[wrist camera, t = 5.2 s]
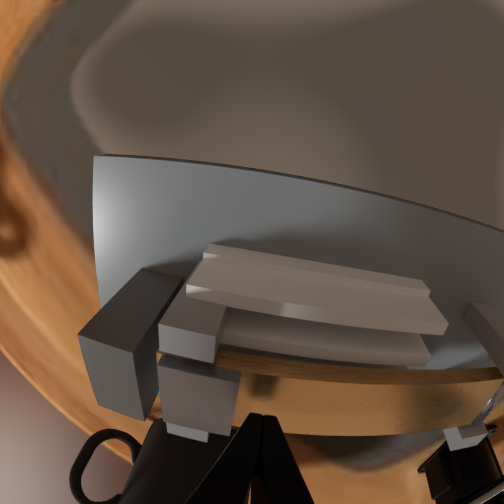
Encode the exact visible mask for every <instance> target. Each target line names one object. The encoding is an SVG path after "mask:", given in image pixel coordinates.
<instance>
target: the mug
mask: <svg viewBox="0 0 504 504" xmlns="http://www.w3.org/2000/svg"><path fill="white" fill-rule="evenodd" d="M235 434H236V431H234V430H232V429H231V432H230V436H226V435H220V434H215V433H209V437H208V441H207V442H203V441H198V440H194V439H190V438H186V437H182V436H178V435H175V434H171V433H167V425H166V422H164V421H163V418H160V419H158V420H156V421H155V422H154V423H152V425H151V427H150V429H149V431H148V433H147V435H146V438H145V440H144V442H143V445H141V444H140V443H139V442H138V441H137V440H136V439H135V438H133V437H132V436H131V435H129V434H128V433H126V432H123V431H120V430H116V429H104V430H101V431H98V432H96V433H95V434H93V435H92V436H91V437H90V438H89V439H88V440H87V441H86V443H85V444H84V446H83V447H82V449H81V451H80V453H79V455H78V456H77V458H76V460H75V462H74V464H73V466H72V468H71V471H70V476H69V483H70V488H71V491H72V494H73V496H74V498H75V499H76V500H77V501H78V502H79V503H80V504H184V503H185V502H186V501H187V499H188V498H189V497H190V496H191V494H192V493H193V492H194V491H195V489H196V488H197V487H198V485H199V484H200V483H201V481H202V480H203V479H204V477H205V476H206V475H207V473H208V472H209V471H210V469H211V468H212V467H213V465H214V464H215V462H216V461H217V460H218V458H219V457H220V455H221V454H222V453H223V451H224V450H225V448H226V447H227V445H228V444H229V443H230V441H231V440H232V438H233V437H234V435H235ZM108 439H119V440H121V441H123V442H125V443H126V444H127V445H128V446H129V447H130V449H131V453H132V462H133V464H134V466H133V468H132V470H131V473H130V475H129V478H128V480H127V482H126V485H125V487H124V490H123V492H122V494H117V495H115V496H114V497H113V498H111V499H109V500H107V501H102V502H94V501H90V500H89V499H88V498H87V497H86V496H85V495H84V492H83V490H82V486H81V477H82V474H83V471H84V469H85V467H86V465H87V463H88V461H89V460H90V458H91V456H92V454H93V452H94V450H95V448H96V447H97V446H98V445H99V444H100V443H102V442H103V441H105V440H108ZM250 486H251V481H250V484H249V487H248V490H247V494H246V497H245V500H244V503H243V504H248V500H249V493H250Z"/></svg>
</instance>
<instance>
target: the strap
mask: <svg viewBox="0 0 504 504" xmlns="http://www.w3.org/2000/svg"><path fill="white" fill-rule="evenodd" d="M156 356H157V371H158V382H159V392H160V401H161V409H162V417H163V421H164V422H167V423H171V424H175V425H179V426H183V427H187V428H191V429H196V430H200V431H205V432H210V433H215V434H220V435H226V436H230V432H231V427H232V426H237V427H240V426H241V425H242V423H243V422H244V420H245V419H246V417H247V416H248V414H249V413H250V412H253V413H260V414H262V415H265V414H267V415H274V416H276V417H277V418H278V420H279V423H280V425H281V428H282V430H283V432H284V433H294V434H308V435H329V436H373V435H394V434H407V433H417V432H426V431H434V430H441V429H448V428H454V427H460V426H465V425H470V424H473V425H480V424H481V423H482V422H483V420H484V419H485V418H486V417H487V416H488V415H489V413H490V412H491V411H492V410H493V408H494V407H495V406H496V405H497V403H498V402H499V401H500V399H501V398H502V397H503V396H504V377H503V375H502V373H501V372H500V370H499V369H498V367H491V368H475V369H447V370H411V369H381V368H363V367H349V366H337V365H327V364H317V363H308V362H299V361H291V360H284V359H277V358H270V357H263V356H257V355H251V354H245V353H239V352H233V351H228V350H222V349H218V350H217V353H216V357H215V360H214V363H209V362H204V361H200V360H195V359H191V358H186V357H182V356H178V355H174V354H170V353H166V352H163V351H160V349H159V348H158V350H157V352H156Z"/></svg>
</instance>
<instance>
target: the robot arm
mask: <svg viewBox="0 0 504 504" xmlns="http://www.w3.org/2000/svg"><path fill="white" fill-rule="evenodd" d="M486 429H487V431H488V434H487V435H486V436H485V437H484V438H483V439H482V440H481V441H480V442H479V443H478V444H477V445H475V446H471V447H467V448H462V449H457V450H453V451H450V448H449V445H448V443H447V441H446V442H445V443H444V444H443V445H442V446H441V447H440V448H439V449H438V450H437V451H436V452H435V453H434V454H433V455H432V456H431V457H430V458H429V459H428V460H427V461H426V462H425V463H424V464H423V465H422V466H420V467H419V468H418V469H417V471H418V473H419V474H420V473H426V477H427V481H428V485H429V489H430V493H431V498H432V500H435V501H436V504H480V503H482V502H483V501H485V500H487V499H489V498H490V497H492V496H493V495H495V494H497V493H498V492H500V491H501V490H503V489H504V475H503V473H502V471H501V468H500V465H499V463H498V460H497V458H496V455H495V453H494V450H493V448H492V445H491V443H490V441H489V438H490V437H491V436H492V435H493V434H494V433H495V432H496V431H497V429H498V428H497V426H496V425H494V426H490V427H486ZM250 481H251V502H250V504H314V501H313V499H312V497H311V495H310V492H309V490H308V488H307V486H306V483H305V481H304V479H303V477H302V474H301V472H300V470H299V468H298V465H297V463H296V461H295V458H294V456H293V454H292V451H291V449H290V447H289V444H288V442H287V440H286V437H285V435H284V432H283V430H282V428H281V425H280V423H279V420H278V418H277V417H276V416H274V415H267V414H265V415H262V414H260V413H253V412H250V413H249V414H248V416H247V417H246V419H245V420H244V422H243V423H242V425H241V426H240V428H239V429H238V431H237V432H236V434H235V435H234V437H233V438H232V440H231V441H230V443H229V444H228V445H227V447H226V448H225V450H224V451H223V453H222V454H221V455H220V457H219V458H218V460H217V461H216V462H215V464H214V465H213V467H212V468H211V469H210V471H209V472H208V473H207V475H206V476H205V477H204V479H203V480H202V481H201V483H200V484H199V485H198V487H197V488H196V489H195V491H194V492H193V493H192V494H191V496H190V497H189V498H188V499H187V501H186V502H185V503H184V504H243V503H244V500H245V497H246V494H247V490H248V487H249V484H250ZM483 504H504V491H502V492H500V493H499V494H497V495H496V496H494V497H492V498H491V499H489V500H487V501H486V502H484V503H483Z"/></svg>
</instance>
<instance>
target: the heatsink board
mask: <svg viewBox="0 0 504 504" xmlns="http://www.w3.org/2000/svg"><path fill="white" fill-rule="evenodd" d="M93 229H94V248H95V261H96V273H97V282H98V291H99V299H100V307H101V309H100V310H99V312H98V313H97V314H96V315H95V316H94V317H93V318H92V319H91V320H90V321H89V322H88V323H87V324H86V325H85V326H84V328H83V329H82V330H81V331H80V332H79V333H78V334H77V335H78V339H79V343H80V347H81V351H82V354H83V358H84V362H85V365H86V369H87V372H88V375H89V379H90V382H91V385H92V388H93V391H94V394H95V397H96V400H97V403H98V405H100V406H103V407H105V408H108V409H110V410H113V411H115V412H118V413H121V414H124V415H126V416H129V417H132V418H135V419H138V420H141V421H144V422H145V420H146V418H147V416H148V414H149V411H150V409H151V407H152V405H153V403H154V401H155V399H156V396H157V394H158V395H160V392H159V382H158V371H157V356H156V352H157V350H158V348H159V349H160V351H163V352H166V353H170V354H174V355H178V356H182V357H186V358H191V359H195V360H200V361H204V362H209V363H214V360H215V357H216V353H217V350H218V349H222V350H228V351H233V352H239V353H245V354H251V355H257V356H263V357H270V358H277V359H284V360H291V361H299V362H308V363H317V364H327V365H337V366H349V367H363V368H381V369H411V370H447V369H475V368H482V367H483V366H484V364H485V363H486V361H487V359H488V358H489V356H490V357H491V359H492V360H493V362H494V363H495V364H496V366H497V367H498V369H499V370H500V372H501V373H502V375H503V377H504V231H503V230H501V229H498V228H495V227H492V226H489V225H486V224H483V223H480V222H478V221H475V220H472V219H469V218H466V217H462V216H459V215H456V214H453V213H450V212H446V211H443V210H439V209H436V208H433V207H430V206H426V205H423V204H419V203H415V202H412V201H408V200H404V199H401V198H397V197H393V196H389V195H385V194H380V193H377V192H373V191H368V190H364V189H360V188H356V187H351V186H347V185H342V184H337V183H332V182H328V181H323V180H318V179H313V178H307V177H302V176H297V175H290V174H285V173H279V172H273V171H267V170H261V169H255V168H248V167H241V166H233V165H226V164H218V163H210V162H201V161H193V160H183V159H172V158H162V157H149V156H135V155H117V154H103V155H97V156H94V165H93ZM166 425H167V433H171V434H175V435H178V436H182V437H186V438H190V439H194V440H198V441H203V442H207V441H208V437H209V433H210V432H205V431H200V430H196V429H191V428H187V427H183V426H179V425H175V424H171V423H167V422H166ZM443 432H444V434H445V437H446V440H447V443H448V445H449V448H450V451H453V450H457V449H462V448H467V447H471V446H475V445H477V444H478V443H479V442H480V441H481V440H482V439H483V438H484V437H485V436H486V435H487V434H488V431H487V429H486V427H485V425H484V423H483V422H482V423H481V424H480V425H473V424H470V425H465V426H460V427H454V428H448V429H443Z"/></svg>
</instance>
